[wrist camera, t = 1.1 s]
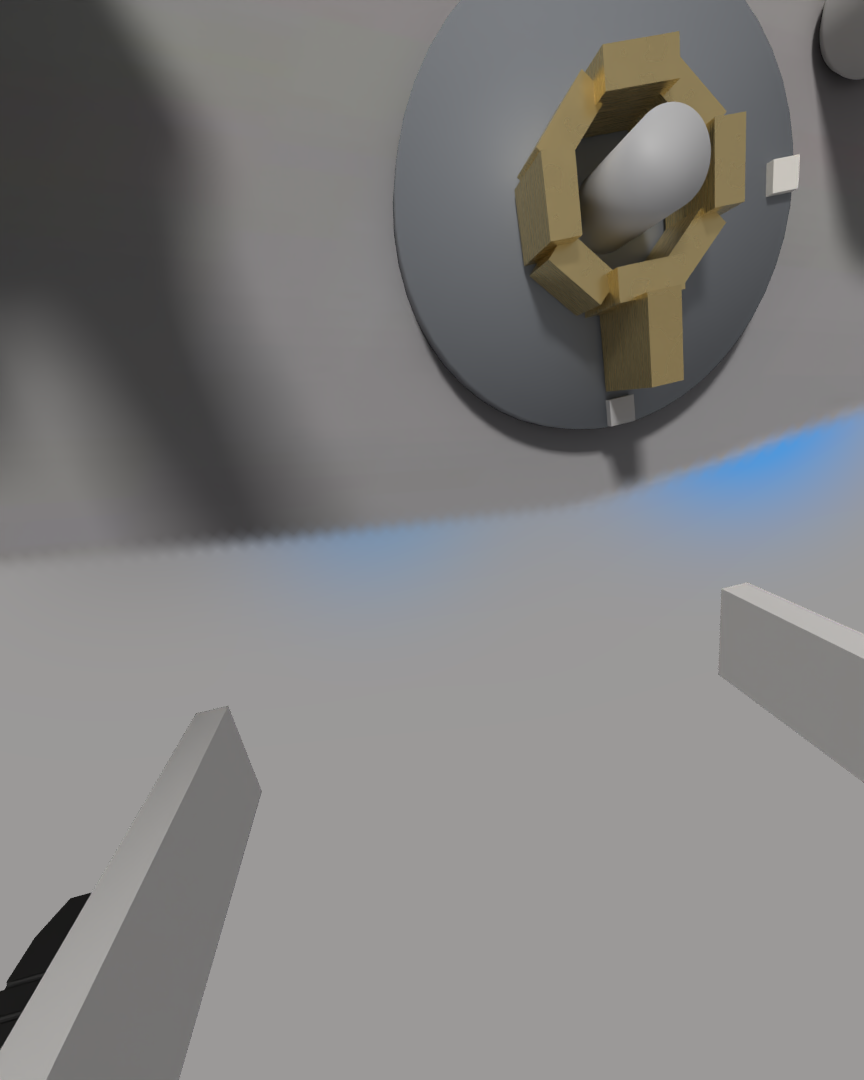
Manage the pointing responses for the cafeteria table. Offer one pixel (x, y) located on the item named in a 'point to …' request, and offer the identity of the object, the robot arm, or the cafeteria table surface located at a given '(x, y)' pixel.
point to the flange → (604, 193)
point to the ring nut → (656, 284)
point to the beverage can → (843, 37)
